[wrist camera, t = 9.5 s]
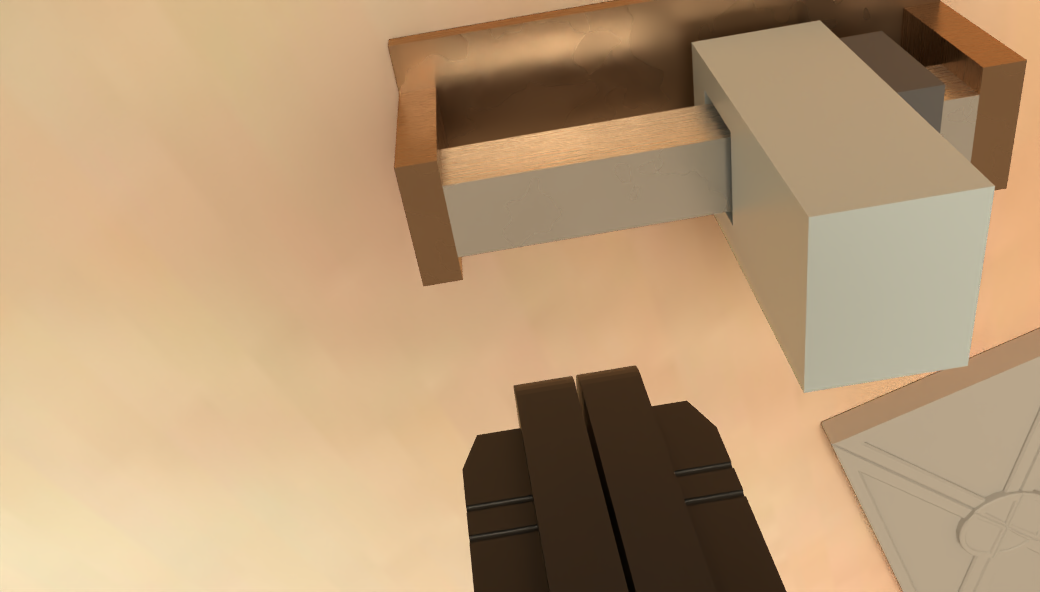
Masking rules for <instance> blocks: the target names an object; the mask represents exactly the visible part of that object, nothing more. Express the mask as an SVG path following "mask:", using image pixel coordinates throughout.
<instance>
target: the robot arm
mask: <svg viewBox="0 0 1040 592" xmlns="http://www.w3.org/2000/svg"><path fill="white" fill-rule="evenodd" d="M576 384H577V390H576V386H575V382H574V379H573V377H572V376H569V377H563V378H557V379H551V380H545V381H539V382H532V383H526V384H520V385H514V393H515V400H516V406H517V413H518V420H519V426H520V428H519V429H513V430H506V431H500V432H494V433H488V434H482V435H477V437H476V439H475V441H474V444H473V446H472V448H471V451H470V453H469V455H468V458H467V460H466V463H465V465H464V467H463V479H464V490H465V500H466V508H467V521H468V532H469V539H470V553H471V563H472V574H473V584H474V592H786V590H785V587H784V585H783V583H782V580H781V578H780V576H779V573H778V571H777V568H776V566H775V564H774V561H773V559H772V557H771V554H770V552H769V550H768V547H767V545H766V543H765V540H764V538H763V535H762V533H761V531H760V528H759V526H758V524H757V521H756V519H755V517H754V514H753V512H752V510H751V507H750V505H749V503H748V500H747V498H746V497H744V494H743V488H742V486H741V484H740V481H739V479H738V477H737V474H736V472H735V470H734V468H732V465H731V460H730V458H729V455H728V453H727V451H726V448H725V446H724V444H723V441H722V439H721V437H720V434H719V432H718V429H717V427H716V426H715V425H713V424H712V423H711V422H710V421H709V420H708V419H707V418H706V417H705V416H703V415H702V414H701V413H700V412H699V411H698V410H697V409H696V408H694V407H693V406H692V405H691V404H690V403H689V402H688V401H682V402H676V403H670V404H664V405H657V406H651V404H650V401H649V398H648V395H647V392H646V389H645V386H644V384H643V381H642V378H641V375H640V373H639V370H638V368H637V367H636V366H629V367H623V368H617V369H611V370H605V371H599V372H592V373H586V374H580V375H577V376H576Z"/></svg>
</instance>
